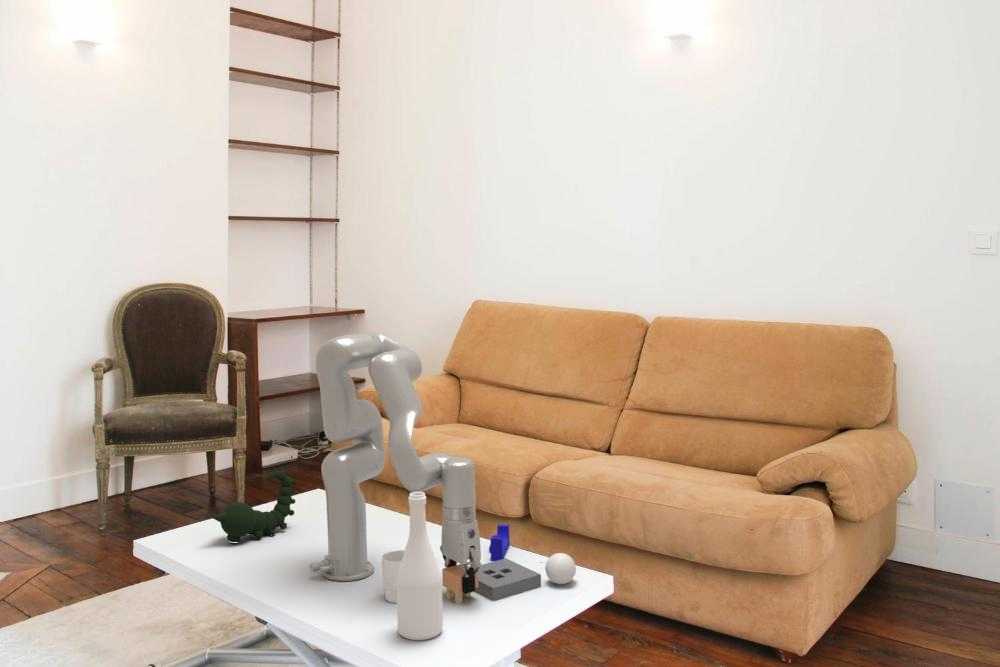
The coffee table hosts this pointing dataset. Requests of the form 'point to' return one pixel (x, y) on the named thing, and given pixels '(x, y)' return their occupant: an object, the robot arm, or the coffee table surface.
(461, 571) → the tan block
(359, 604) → the coffee table surface
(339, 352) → the robot arm
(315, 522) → the coffee table surface
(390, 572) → the white cup
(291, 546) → the coffee table surface
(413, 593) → the wine bottle
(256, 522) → the toy figurine
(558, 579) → the white piece
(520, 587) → the flat gray square plate
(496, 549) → the cable clip
